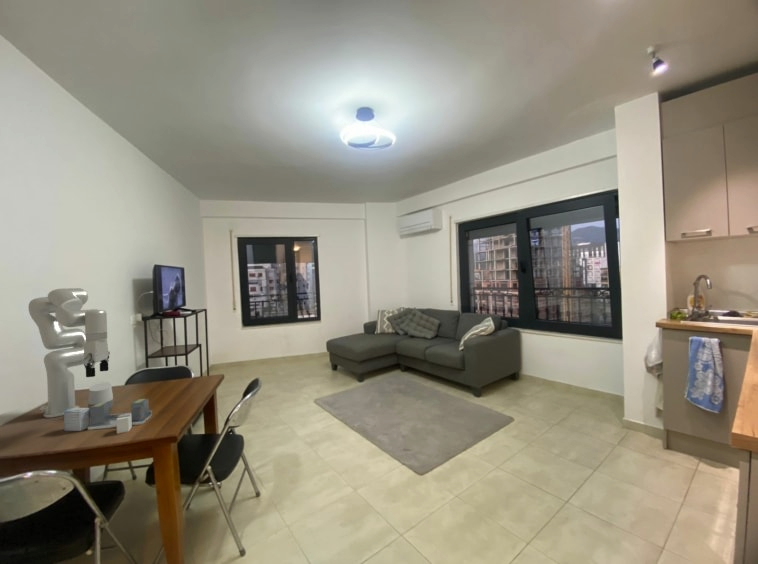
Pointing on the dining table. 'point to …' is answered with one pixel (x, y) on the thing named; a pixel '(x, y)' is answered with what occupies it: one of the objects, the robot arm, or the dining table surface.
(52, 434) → the dining table surface
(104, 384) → the smart speaker
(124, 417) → the block
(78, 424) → the medicine box
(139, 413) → the rail
